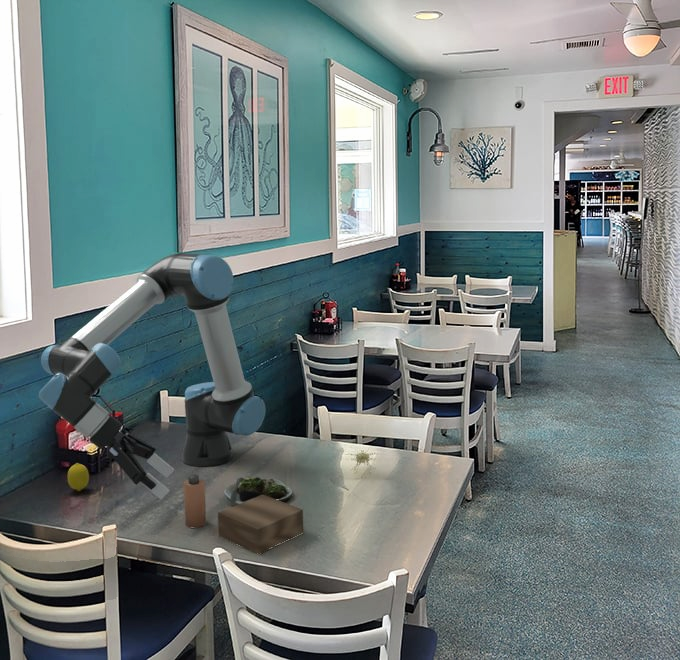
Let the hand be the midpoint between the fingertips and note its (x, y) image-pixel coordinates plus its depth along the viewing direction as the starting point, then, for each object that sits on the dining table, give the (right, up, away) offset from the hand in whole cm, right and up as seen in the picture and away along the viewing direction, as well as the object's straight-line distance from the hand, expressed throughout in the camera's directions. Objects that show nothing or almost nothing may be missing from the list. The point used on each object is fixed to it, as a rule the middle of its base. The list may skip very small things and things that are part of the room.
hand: (168, 484), depth 182 cm
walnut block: (+23, -11, -3) cm, 26 cm away
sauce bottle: (+6, -10, +3) cm, 12 cm away
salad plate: (+19, -8, +20) cm, 29 cm away
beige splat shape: (+48, -4, +36) cm, 60 cm away
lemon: (-30, -7, +25) cm, 39 cm away
